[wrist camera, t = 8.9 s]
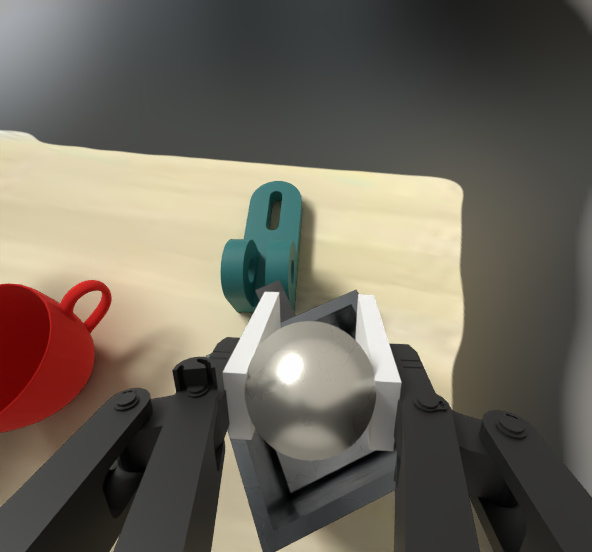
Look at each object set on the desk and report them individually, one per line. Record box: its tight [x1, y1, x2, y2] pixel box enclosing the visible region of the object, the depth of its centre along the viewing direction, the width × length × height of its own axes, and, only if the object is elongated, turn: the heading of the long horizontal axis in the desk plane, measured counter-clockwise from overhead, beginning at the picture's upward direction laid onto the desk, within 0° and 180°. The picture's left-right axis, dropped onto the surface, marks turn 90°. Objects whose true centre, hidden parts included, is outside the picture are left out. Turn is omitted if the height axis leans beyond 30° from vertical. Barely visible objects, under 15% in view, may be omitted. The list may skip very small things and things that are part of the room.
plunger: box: [245, 321, 395, 492], centre depth 17 cm, size 9×9×17 cm
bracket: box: [221, 181, 302, 313], centre depth 36 cm, size 18×7×8 cm, turn 175°
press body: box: [206, 280, 397, 552], centre depth 26 cm, size 15×11×14 cm
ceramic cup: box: [0, 280, 111, 433], centre depth 31 cm, size 13×17×10 cm
